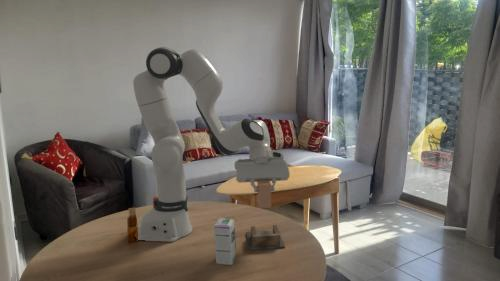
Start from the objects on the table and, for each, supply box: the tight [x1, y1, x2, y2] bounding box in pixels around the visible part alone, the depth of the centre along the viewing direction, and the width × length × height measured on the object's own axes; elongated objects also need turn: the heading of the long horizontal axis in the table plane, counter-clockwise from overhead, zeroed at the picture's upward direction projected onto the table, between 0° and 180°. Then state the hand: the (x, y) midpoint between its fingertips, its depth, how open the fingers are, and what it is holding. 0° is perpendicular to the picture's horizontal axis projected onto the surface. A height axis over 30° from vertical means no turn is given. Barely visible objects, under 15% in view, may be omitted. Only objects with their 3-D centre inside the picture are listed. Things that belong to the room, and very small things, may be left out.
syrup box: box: [213, 217, 237, 266], centre depth 132 cm, size 6×6×14 cm
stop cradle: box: [245, 224, 286, 251], centre depth 146 cm, size 13×13×5 cm
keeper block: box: [256, 180, 272, 209], centre depth 144 cm, size 4×4×9 cm
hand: (264, 191), depth 143 cm, fingers closed on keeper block, 4 cm apart
